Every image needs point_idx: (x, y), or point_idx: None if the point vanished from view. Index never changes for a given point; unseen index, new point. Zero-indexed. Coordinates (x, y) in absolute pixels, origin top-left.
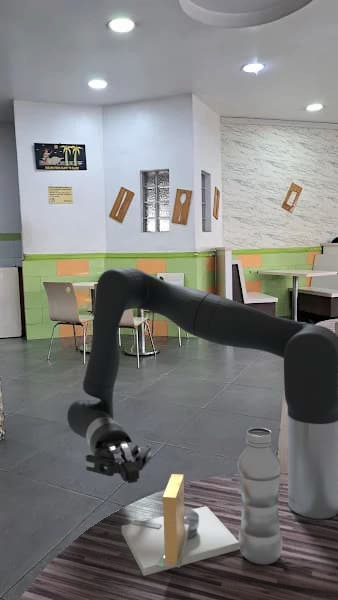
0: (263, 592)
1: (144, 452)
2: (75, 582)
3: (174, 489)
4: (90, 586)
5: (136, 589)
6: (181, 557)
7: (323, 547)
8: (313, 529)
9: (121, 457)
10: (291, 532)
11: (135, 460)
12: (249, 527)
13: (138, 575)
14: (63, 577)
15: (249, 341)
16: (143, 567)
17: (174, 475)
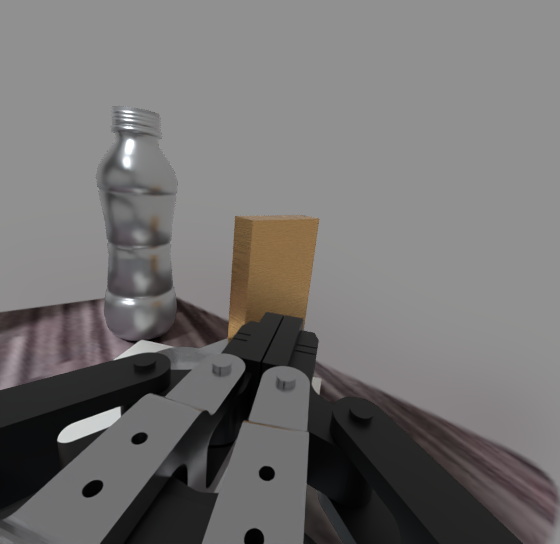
0: (206, 313)
1: (53, 380)
2: (457, 448)
3: (289, 216)
4: (422, 423)
5: (342, 380)
6: None
7: (68, 307)
8: (11, 322)
9: (250, 417)
10: (37, 333)
11: (179, 381)
12: (171, 276)
13: (327, 397)
14: (492, 477)
15: None
16: (320, 380)
17: (253, 219)
